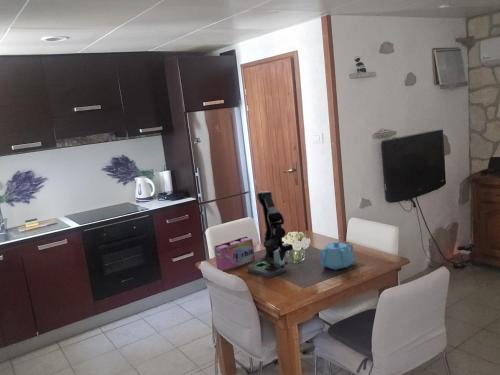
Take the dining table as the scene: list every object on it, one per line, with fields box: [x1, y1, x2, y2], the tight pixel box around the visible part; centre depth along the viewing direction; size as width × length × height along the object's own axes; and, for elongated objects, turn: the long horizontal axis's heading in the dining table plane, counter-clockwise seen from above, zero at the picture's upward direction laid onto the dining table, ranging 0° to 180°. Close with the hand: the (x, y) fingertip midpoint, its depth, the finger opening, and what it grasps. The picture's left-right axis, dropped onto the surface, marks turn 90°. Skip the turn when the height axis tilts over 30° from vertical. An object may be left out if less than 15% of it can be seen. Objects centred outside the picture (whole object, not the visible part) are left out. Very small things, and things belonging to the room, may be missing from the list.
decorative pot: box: [319, 241, 355, 271], centre depth 236 cm, size 16×16×14 cm
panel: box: [247, 260, 287, 279], centre depth 242 cm, size 12×18×3 cm, turn 40°
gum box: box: [213, 236, 256, 272], centre depth 259 cm, size 24×8×14 cm, turn 124°
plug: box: [273, 248, 286, 266], centre depth 251 cm, size 4×4×8 cm
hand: (279, 259), depth 251 cm, fingers closed on plug, 4 cm apart
